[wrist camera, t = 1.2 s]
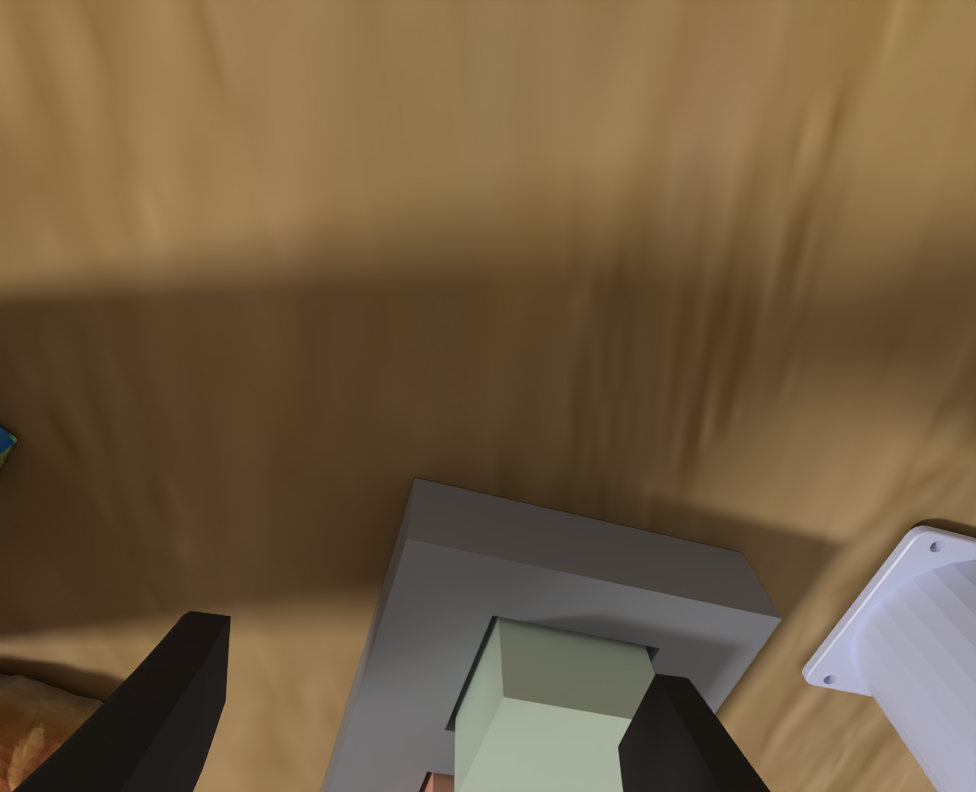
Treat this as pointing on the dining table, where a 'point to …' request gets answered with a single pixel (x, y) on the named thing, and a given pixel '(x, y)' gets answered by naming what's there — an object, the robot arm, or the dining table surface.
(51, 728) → the pastry
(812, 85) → the dining table surface
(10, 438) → the blue food package
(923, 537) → the robot arm
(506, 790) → the sage key
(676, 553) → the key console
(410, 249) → the dining table surface
